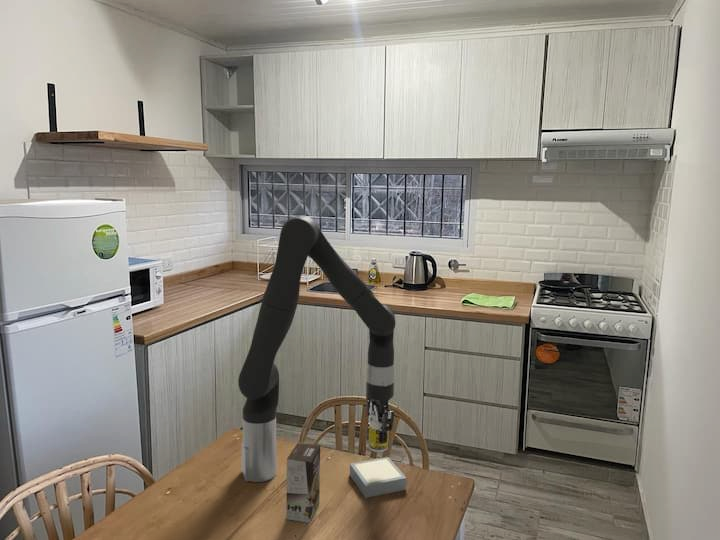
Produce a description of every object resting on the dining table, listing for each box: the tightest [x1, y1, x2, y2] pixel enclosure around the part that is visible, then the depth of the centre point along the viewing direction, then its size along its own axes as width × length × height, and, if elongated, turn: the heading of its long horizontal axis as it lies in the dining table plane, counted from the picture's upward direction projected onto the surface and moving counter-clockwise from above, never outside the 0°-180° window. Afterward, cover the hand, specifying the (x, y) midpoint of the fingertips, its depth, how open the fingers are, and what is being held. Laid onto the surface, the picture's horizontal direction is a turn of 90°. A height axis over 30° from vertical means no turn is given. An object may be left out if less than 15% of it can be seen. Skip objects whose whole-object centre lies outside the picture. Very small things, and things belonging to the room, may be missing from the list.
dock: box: [349, 456, 407, 499], centre depth 150 cm, size 12×12×4 cm
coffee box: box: [285, 442, 321, 524], centre depth 135 cm, size 9×6×16 cm
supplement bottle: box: [368, 413, 390, 453], centre depth 148 cm, size 5×5×10 cm
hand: (378, 437), depth 149 cm, fingers closed on supplement bottle, 5 cm apart
